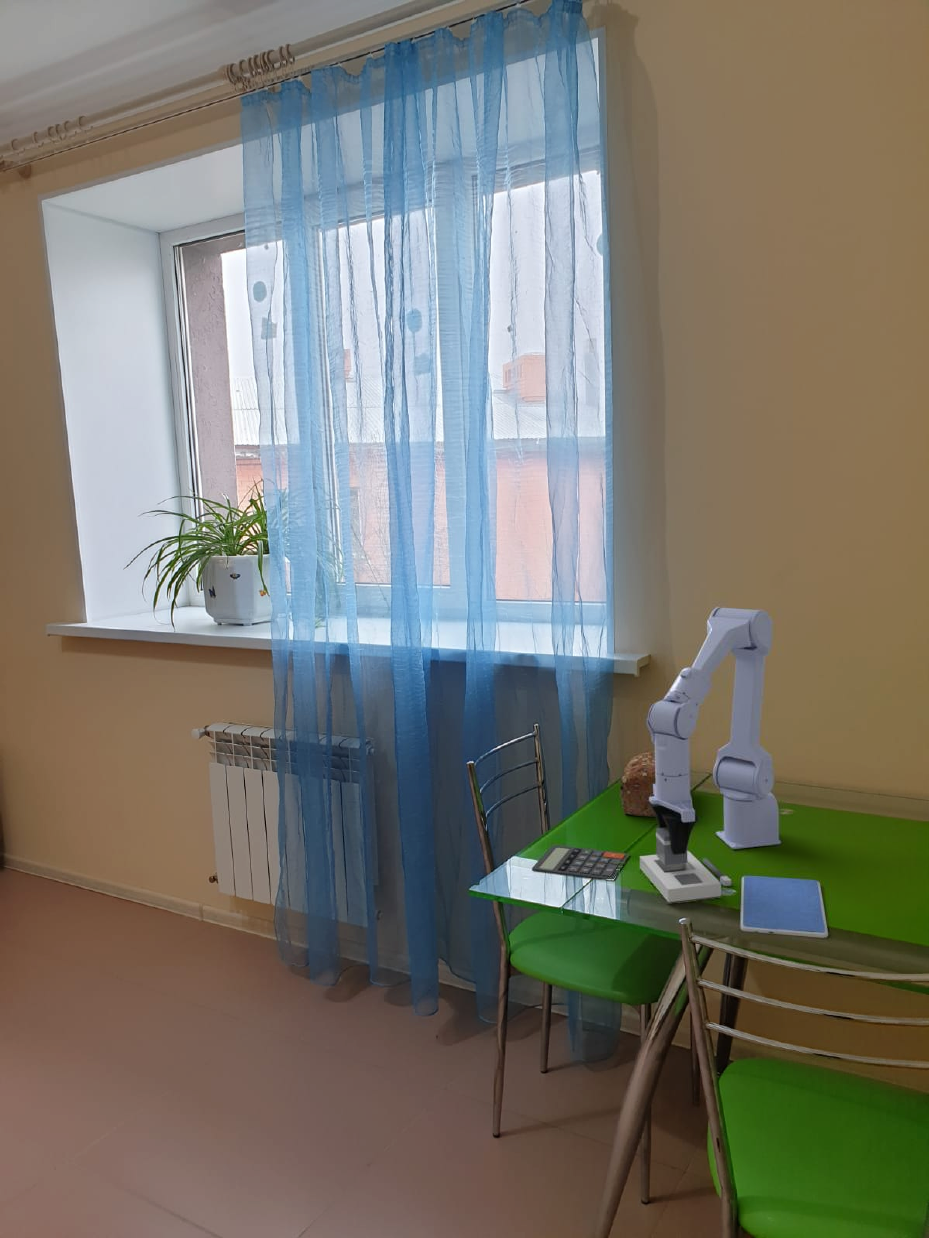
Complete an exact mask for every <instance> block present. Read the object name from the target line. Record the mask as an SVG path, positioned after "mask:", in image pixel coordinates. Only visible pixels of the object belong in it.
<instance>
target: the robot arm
mask: <svg viewBox="0 0 929 1238" xmlns="http://www.w3.org/2000/svg"><path fill="white" fill-rule="evenodd" d="M773 622H774V621H773V620H772V618H771V617H770V615H769V614H768V612H767V611H766V610H765V609H748V608H747V609H745V608H731V607H723V606H717V607H715V608H713V610H712V611H711V613H710V615H709V617H708V619H707V621H706V633H707V635H706V638H705V640H704V642H703V644H702V646H701V647H700V650H699V652H698V654H697V656H696V657H695V660H694V662H693V663H692V666H691V667H684V668H683V669H682V670H681V671H680V672H679V674H678V676H677V677H676V679H675V680H674V682H673V684H672V685H671V687H670V688H669V690H668V691H667V693H666V695H665V696H664V698H663V699H662V700H659V701H658V700H657V701H656V702H655V703H653V704H652V705H651V707H649V710H648V712H647V713H648V714H647V719H646V721H645V722H646V726H647V729H648V731H649V732H650V738H651V739H650V740H651V743H652V744H653V745H654V751H655V778H656V784H653V794H654V795H655V796H652V797H649V801H650V802H651V803H650V806H651V808H652V810H653V812H654V814H655V816H656V817H655V819H656V823H657V825H658V828H665V827H667V829H668V832H669V837H670V844H671V849H672V852H673V854H674V855H676V854H685V853H686V849H687V850H688V844H689V840H690V836H691V834H692V831H693V829H694V826H695V825H696V823H697V822H698V821H699V816H698V815H697V814H696V809H694V808H693V800H692V795H691V767H690V766H691V765H690V764H691V763H690V761H691V759H690V737H691V736H692V735H693V733H694V732H695V730H696V727H697V720H698V717H699V715H700V711H699V708H700V707H701V705H702V704H703V702H704V701H705V698H706V697H707V695H708V694H709V692H710V691H711V689H712V685H713V684H712V681H711V679H710V677H712V675H713V674H714V672H715V671H716V669H717V668H718V667H719V666H720V664H721V663H722V662H723V660H724V659H725V658H726V656H727V655H728V654H729V652H730V653H731V654H732V655H733V657H734V658H735V669H734V683H733V697H732V699H733V700H732V710H731V711H732V712H731V724H730V725H731V726H730V741H729V742H728V743H726V744H725V745H724V746H722V747H720V748H719V749H718V750H717V756H716V761H715V764H714V766H713V770H712V777H713V782H714V784H715V786H716V787H717V788H718V789H719V793H720V794H721V795H723V830H721V831H720V830H719V831H716V832H715V835H716V836H717V837H718V838H720V839H721V840H722V841H723V842H724V843H725V844H726V845H727V846H728V847H730V848H731V849H732V850H739V849H748V848H754V847H755V848H758V847H763V846H774V845H781V843H782V842H781V840H780V839H779V838H780V837H779V836H780V834H779V833H780V831H779V830H780V823H779V822H780V820H779V819H780V818H779V817H780V815H779V814H780V813H779V812H780V811H779V805H778V801H777V799H776V797H775V795H774V793H772V792H771V791H772V790H773V787H774V783H775V774H774V769H773V756H772V755H771V754H770V753H769V752H768V751H767V750H766V749H765V748H764V747H763V746H762V745H761V744H760V733H761V732H760V731H761V720H762V707H763V696H764V695H763V692H764V678H765V666H766V655H769V654H771V651H772V650H771V648H772V640H773V639H772V638H773V625H774V624H773Z"/></svg>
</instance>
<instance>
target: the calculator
mask: <svg viewBox="0 0 929 1238" xmlns="http://www.w3.org/2000/svg"><path fill="white" fill-rule="evenodd" d="M625 855H626V856H625ZM627 855H631V854H630V853H628V852H627V853H626V852H617V851H611V850H610V851H609V850H600V849H593V848H592V849H591V848H584V847H577V846H576V847H575V846H567V845H558V844H552V845H551V846H549V848H548V849H547V850H546V851H545V852H544V854H543V855H542V856H541V857H540V858H539V859H538V860H537V862H536V863H535V864H534V865H533V866H532V868H531V870H532V872H538V873H544V874H545V873H546V874H555V875H561V876H562V875H563V876H569V877H570V876H571V877H577V878H578V877H579V878H586V879H594V880H601V879H614V878H615V876H616V875H617V873H618V872H619V870H616V869H621V867H618V866H623V864H624V863H620V862H625V861H626V859H628V860H629V858H628V856H627ZM624 859H625V860H624ZM610 862H611V863H610ZM626 862H627V861H626ZM624 865H625V864H624ZM623 867H624V866H623ZM621 870H622V869H621ZM619 873H620V872H619ZM619 873H618V874H619ZM617 876H618V875H617ZM617 876H616V877H617ZM615 879H616V878H615ZM615 879H614V880H615Z"/></svg>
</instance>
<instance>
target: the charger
mask: <svg viewBox="0 0 929 1238" xmlns="http://www.w3.org/2000/svg"><path fill="white" fill-rule="evenodd" d="M655 830H656V832H655V837H656V838H655V840H656V841H655V842H656V844H655V845H656V846H655V847H656V855H657V857H658V858H659V859H660V860H661V861H662V863H663V864H664V865H671V864H680V863H687V851H688V848H687V849H686V853H685V854H676V855H674V854H673V852H672V849H671V844H670V837H669V832H668V829H667V827H665V828H659V827H657V828H655Z"/></svg>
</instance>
